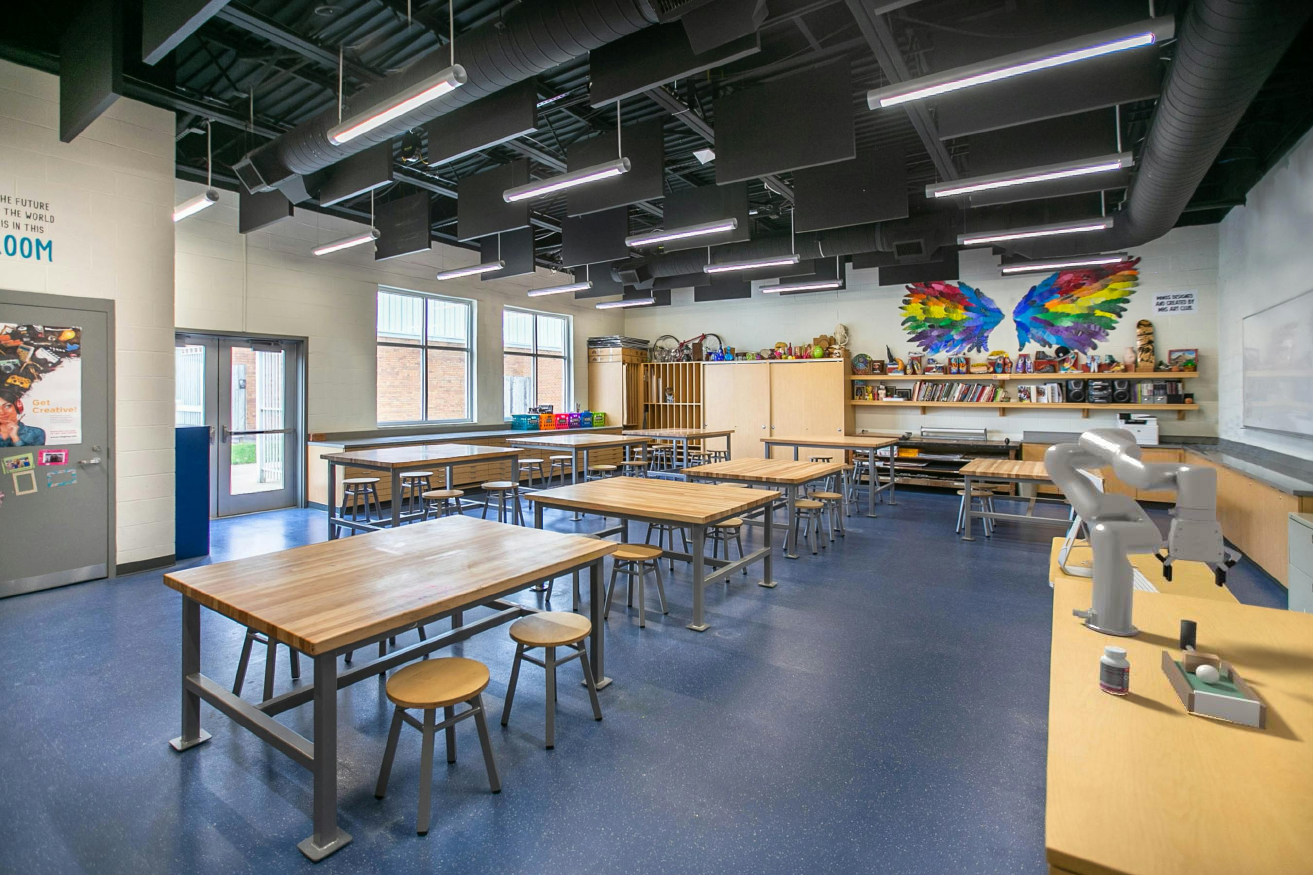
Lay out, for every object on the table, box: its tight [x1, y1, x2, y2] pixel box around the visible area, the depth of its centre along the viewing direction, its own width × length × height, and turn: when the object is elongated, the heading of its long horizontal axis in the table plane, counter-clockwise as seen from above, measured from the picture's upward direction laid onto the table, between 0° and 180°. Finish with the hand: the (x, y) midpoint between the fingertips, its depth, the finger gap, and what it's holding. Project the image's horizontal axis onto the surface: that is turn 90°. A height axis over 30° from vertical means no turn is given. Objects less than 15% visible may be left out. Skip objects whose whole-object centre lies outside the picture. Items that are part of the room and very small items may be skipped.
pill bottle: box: [1098, 645, 1131, 694], centre depth 138 cm, size 5×5×10 cm
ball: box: [1196, 665, 1220, 684], centre depth 137 cm, size 4×4×4 cm
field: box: [1160, 650, 1268, 730], centre depth 136 cm, size 12×26×5 cm, turn 150°
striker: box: [1179, 619, 1221, 673], centre depth 147 cm, size 6×15×8 cm, turn 150°
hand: (1193, 582), depth 151 cm, fingers open, 9 cm apart
